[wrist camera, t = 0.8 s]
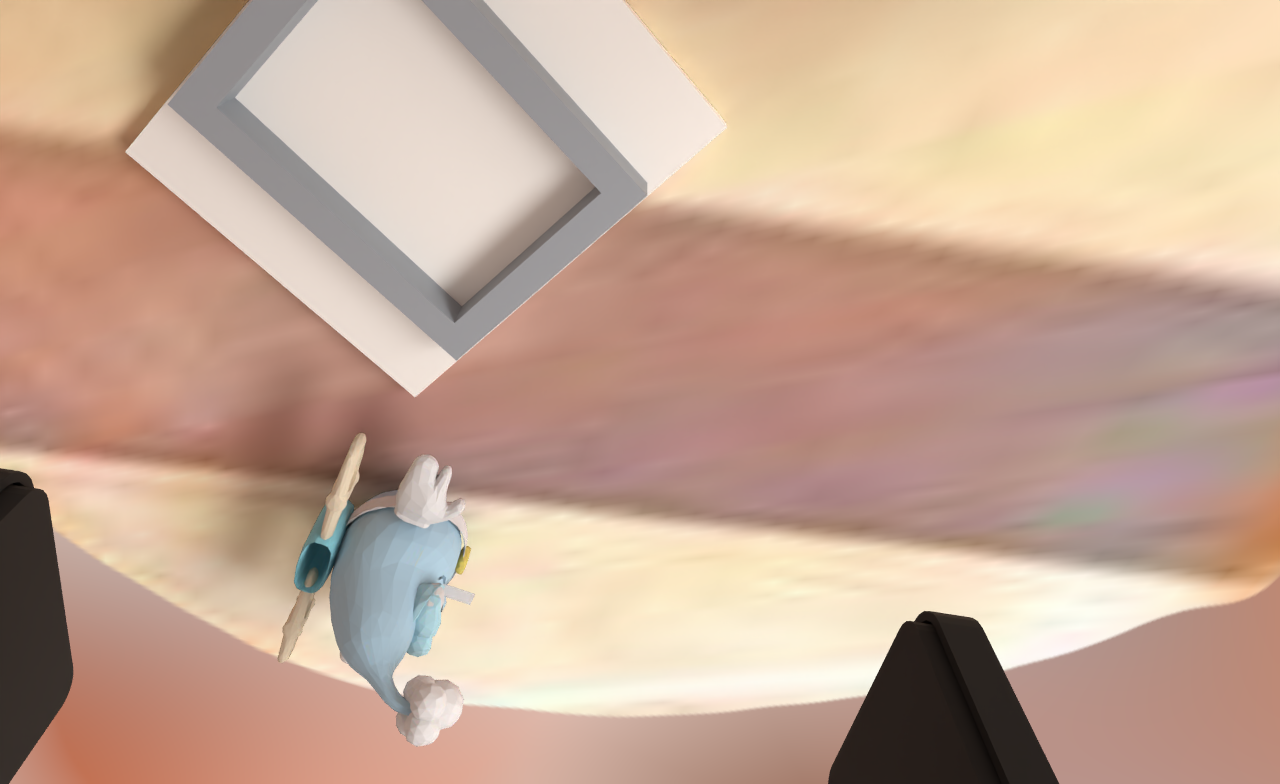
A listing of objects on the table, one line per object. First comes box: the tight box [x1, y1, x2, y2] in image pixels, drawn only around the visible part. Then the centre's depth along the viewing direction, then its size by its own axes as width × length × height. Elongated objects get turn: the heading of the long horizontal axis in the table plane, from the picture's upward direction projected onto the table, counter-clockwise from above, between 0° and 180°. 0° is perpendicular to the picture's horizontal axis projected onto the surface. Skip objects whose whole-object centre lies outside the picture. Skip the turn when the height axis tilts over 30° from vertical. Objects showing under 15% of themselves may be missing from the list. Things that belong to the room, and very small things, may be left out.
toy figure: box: [278, 433, 475, 746], centre depth 47 cm, size 17×10×15 cm, turn 156°
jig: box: [125, 0, 727, 397], centre depth 40 cm, size 22×18×3 cm
